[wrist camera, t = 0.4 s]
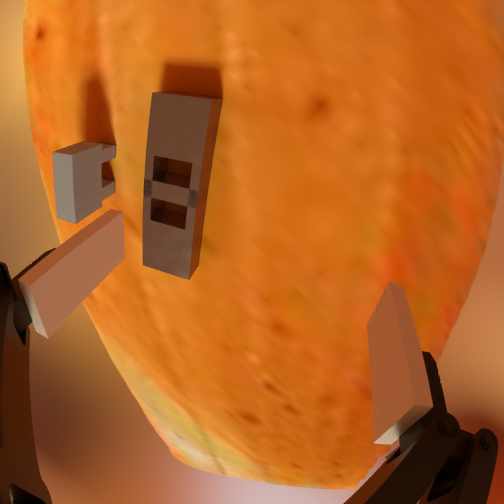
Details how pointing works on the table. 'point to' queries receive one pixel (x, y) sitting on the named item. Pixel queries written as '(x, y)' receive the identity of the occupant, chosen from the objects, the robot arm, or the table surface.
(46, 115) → the table surface
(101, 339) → the table surface
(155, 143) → the block with rectangular hole
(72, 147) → the upright grey box
